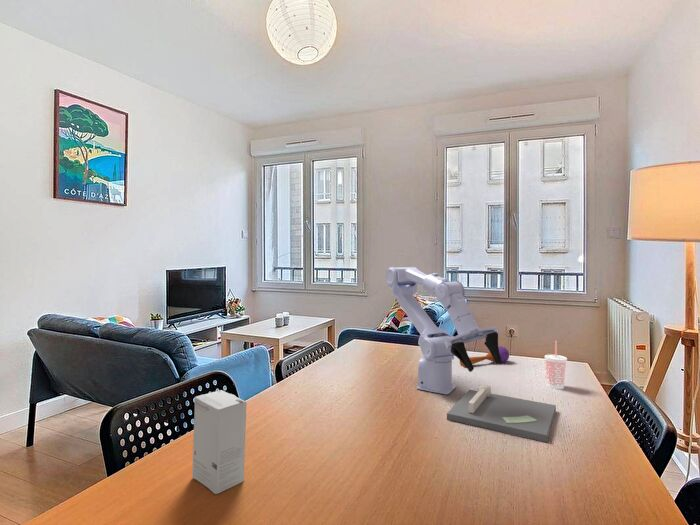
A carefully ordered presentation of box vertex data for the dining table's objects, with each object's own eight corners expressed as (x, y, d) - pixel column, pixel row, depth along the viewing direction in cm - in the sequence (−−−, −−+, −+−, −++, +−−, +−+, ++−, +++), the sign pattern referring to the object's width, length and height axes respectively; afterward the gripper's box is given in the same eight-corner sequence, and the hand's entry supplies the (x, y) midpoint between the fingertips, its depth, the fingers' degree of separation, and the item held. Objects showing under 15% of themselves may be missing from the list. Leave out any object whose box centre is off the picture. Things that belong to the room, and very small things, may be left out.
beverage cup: (544, 388, 122) (545, 341, 121) (543, 382, 128) (544, 337, 127) (567, 391, 120) (568, 343, 119) (565, 384, 125) (566, 339, 125)
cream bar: (480, 392, 113) (480, 384, 113) (492, 394, 112) (492, 386, 111) (464, 411, 100) (464, 401, 100) (477, 414, 98) (477, 404, 98)
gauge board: (446, 419, 99) (446, 412, 99) (469, 394, 116) (469, 388, 116) (546, 442, 88) (546, 434, 88) (555, 411, 105) (555, 404, 105)
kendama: (456, 353, 147) (499, 344, 155) (458, 370, 147) (502, 360, 154) (466, 354, 142) (511, 345, 149) (469, 372, 141) (514, 361, 149)
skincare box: (191, 478, 73) (190, 396, 73) (221, 465, 78) (220, 388, 78) (217, 496, 68) (216, 408, 68) (247, 481, 73) (247, 398, 72)
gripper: (441, 319, 107) (462, 368, 99) (491, 306, 109) (516, 353, 102) (436, 331, 113) (456, 377, 105) (484, 318, 115) (507, 363, 107)
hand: (485, 366), depth 104 cm, fingers open, 7 cm apart
